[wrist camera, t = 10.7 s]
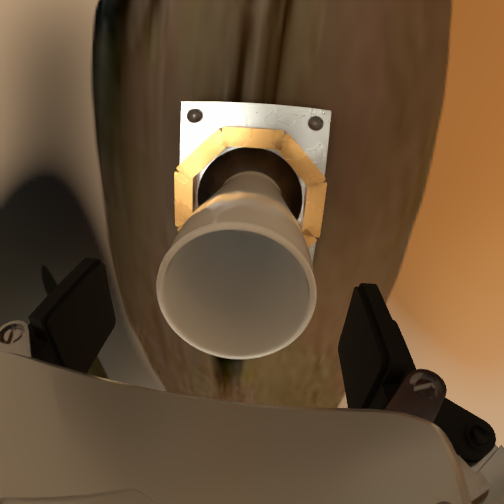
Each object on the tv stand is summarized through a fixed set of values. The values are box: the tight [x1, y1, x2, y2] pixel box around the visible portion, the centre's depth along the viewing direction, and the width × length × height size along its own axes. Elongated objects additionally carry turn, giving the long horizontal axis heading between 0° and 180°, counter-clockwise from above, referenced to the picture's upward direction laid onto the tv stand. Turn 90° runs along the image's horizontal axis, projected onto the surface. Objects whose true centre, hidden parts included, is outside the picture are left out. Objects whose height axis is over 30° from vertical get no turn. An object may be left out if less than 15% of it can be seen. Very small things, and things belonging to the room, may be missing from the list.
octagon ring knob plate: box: [175, 102, 331, 263], centre depth 28 cm, size 16×12×6 cm
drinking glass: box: [156, 171, 317, 359], centre depth 19 cm, size 7×7×15 cm
